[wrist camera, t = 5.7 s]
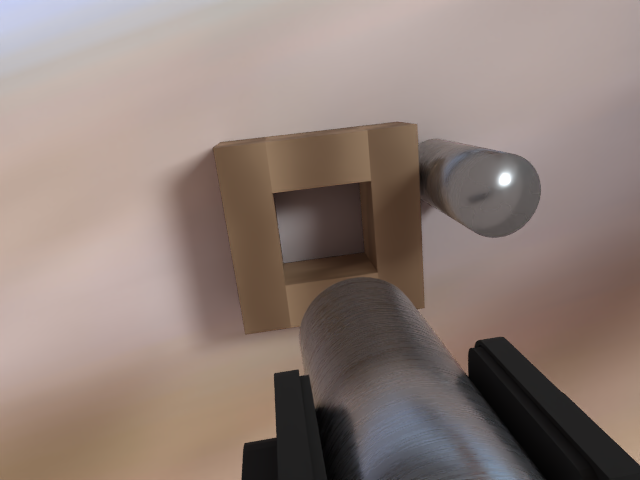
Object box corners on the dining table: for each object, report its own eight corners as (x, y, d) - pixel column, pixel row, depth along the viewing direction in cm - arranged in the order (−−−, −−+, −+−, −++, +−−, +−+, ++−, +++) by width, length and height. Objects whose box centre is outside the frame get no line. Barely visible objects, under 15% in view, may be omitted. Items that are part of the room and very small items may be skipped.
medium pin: (462, 135, 26) (542, 148, 19) (463, 196, 27) (539, 231, 20) (402, 142, 26) (457, 158, 18) (405, 203, 27) (459, 242, 19)
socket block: (397, 121, 26) (417, 124, 22) (406, 284, 28) (424, 308, 25) (220, 142, 25) (212, 148, 21) (248, 306, 28) (245, 334, 24)
